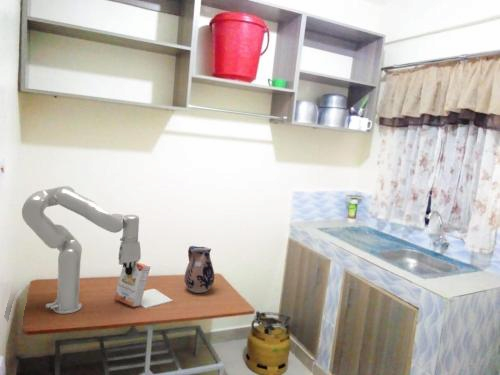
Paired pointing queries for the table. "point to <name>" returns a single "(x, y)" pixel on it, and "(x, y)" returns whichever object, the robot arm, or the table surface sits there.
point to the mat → (153, 298)
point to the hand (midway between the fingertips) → (128, 274)
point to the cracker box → (132, 285)
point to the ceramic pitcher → (199, 270)
